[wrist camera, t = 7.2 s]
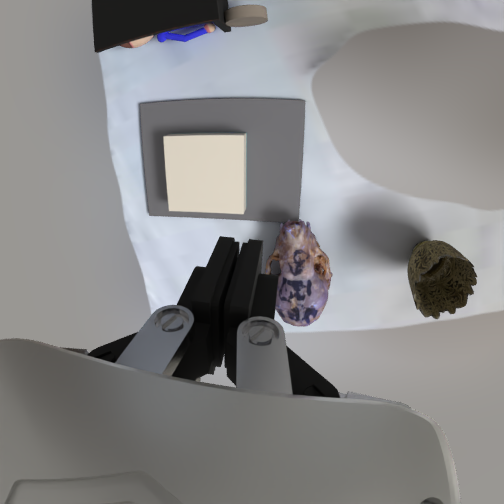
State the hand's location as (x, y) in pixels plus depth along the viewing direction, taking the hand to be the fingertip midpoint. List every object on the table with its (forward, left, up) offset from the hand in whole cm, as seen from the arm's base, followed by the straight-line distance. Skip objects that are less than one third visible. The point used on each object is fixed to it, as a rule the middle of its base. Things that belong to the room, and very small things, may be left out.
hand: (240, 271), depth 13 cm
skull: (+12, +3, -22) cm, 25 cm away
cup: (+9, +18, -22) cm, 30 cm away
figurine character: (-16, -9, -22) cm, 28 cm away
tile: (+1, -3, -20) cm, 20 cm away
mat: (0, -6, -22) cm, 22 cm away
